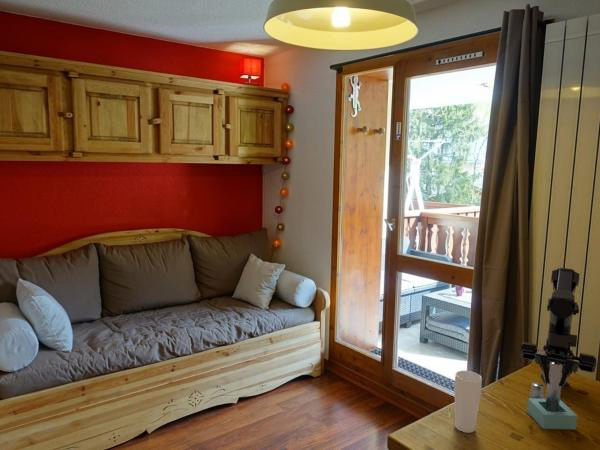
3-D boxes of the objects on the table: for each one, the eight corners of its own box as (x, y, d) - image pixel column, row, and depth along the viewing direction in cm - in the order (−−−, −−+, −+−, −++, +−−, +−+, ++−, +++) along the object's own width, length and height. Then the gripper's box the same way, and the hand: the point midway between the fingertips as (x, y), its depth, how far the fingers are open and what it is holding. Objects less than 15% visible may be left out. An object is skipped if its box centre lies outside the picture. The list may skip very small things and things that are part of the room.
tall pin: (551, 403, 134) (555, 359, 132) (561, 409, 131) (566, 364, 129) (542, 405, 133) (546, 361, 131) (552, 411, 130) (557, 366, 128)
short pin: (539, 396, 146) (540, 382, 146) (544, 401, 143) (546, 387, 142) (528, 396, 146) (529, 382, 146) (533, 401, 143) (535, 387, 142)
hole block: (557, 411, 137) (559, 398, 137) (575, 429, 128) (577, 415, 128) (527, 411, 137) (528, 398, 137) (542, 428, 128) (544, 414, 128)
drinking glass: (474, 422, 131) (478, 371, 129) (481, 436, 124) (485, 382, 122) (449, 420, 131) (452, 369, 129) (454, 434, 125) (458, 380, 122)
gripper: (524, 315, 137) (516, 365, 129) (599, 328, 128) (597, 382, 120) (524, 333, 145) (517, 381, 137) (595, 346, 136) (592, 398, 128)
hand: (554, 385), depth 130 cm, fingers closed on tall pin, 3 cm apart
